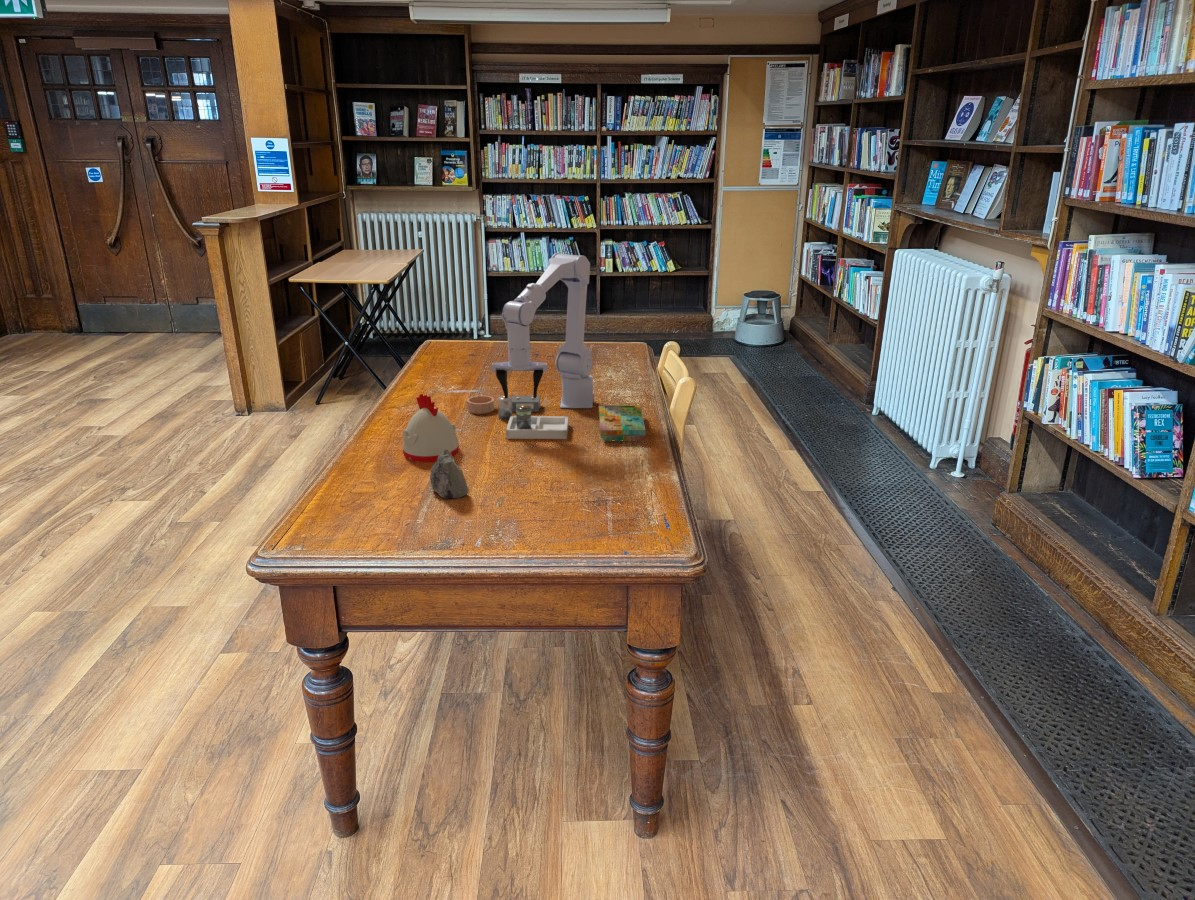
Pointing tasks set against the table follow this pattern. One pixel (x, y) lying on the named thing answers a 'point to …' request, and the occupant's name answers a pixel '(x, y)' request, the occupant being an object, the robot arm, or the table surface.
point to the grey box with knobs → (526, 402)
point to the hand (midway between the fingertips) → (520, 396)
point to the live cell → (523, 417)
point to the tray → (539, 428)
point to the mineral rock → (448, 477)
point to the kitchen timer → (428, 433)
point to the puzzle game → (621, 422)
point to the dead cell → (505, 407)
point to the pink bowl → (480, 404)
